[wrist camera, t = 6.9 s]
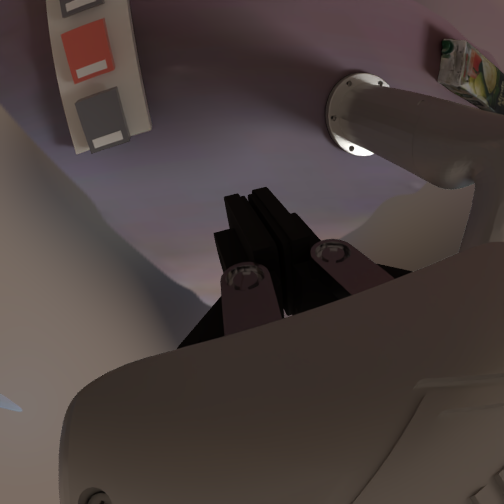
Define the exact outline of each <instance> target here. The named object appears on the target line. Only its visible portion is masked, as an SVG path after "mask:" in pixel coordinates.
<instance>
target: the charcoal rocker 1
mask: <svg viewBox="0 0 504 504" xmlns="http://www.w3.org/2000/svg"><path fill="white" fill-rule="evenodd" d="M59 1H60V7H61V12H62V18H67V17H69V16H72V15H74V14H77V13H79V12H82V11H84V10H87V9H90V8H93V7H96V6H99V5H101V4H105V2H104V0H59Z"/></svg>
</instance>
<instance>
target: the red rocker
mask: <svg viewBox="0 0 504 504" xmlns="http://www.w3.org/2000/svg"><path fill="white" fill-rule="evenodd" d="M61 38H62V42H63V46H64V50H65V54H66V57H67V61H68V64H69V68H70V71H71V75H72V78H73V81H74V84H77V83H80V82H82V81H85V80H87V79H90V78H93V77H96V76H99V75H101V74H104V73H107V72H110V71H113V70H114V69H115V63H114V59H113V55H112V51H111V46H110V42H109V37H108V32H107V28H106V23H105V18H102V19H99V20H96V21H93V22H90V23H88V24H85V25H82V26H80V27H77V28H75V29H72V30H70V31H67V32H65V33H63V34H61Z"/></svg>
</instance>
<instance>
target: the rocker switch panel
mask: <svg viewBox="0 0 504 504" xmlns="http://www.w3.org/2000/svg"><path fill="white" fill-rule="evenodd" d="M104 2H105V4H101V5H99V6H96V7H93V8H90V9H87V10H84V11H82V12H79V13H77V14H74V15H72V16H69V17H67V18H62V12H61V7H60V1H59V0H46V8H47V18H48V26H49V34H50V41H51V48H52V54H53V60H54V65H55V71H56V76H57V81H58V85H59V90H60V95H61V99H62V103H63V107H64V111H65V115H66V119H67V123H68V127H69V130H70V134H71V138H72V141H73V145H74V148H75V151H76V155H77V154H79V153H82V152H85V151H88V150H90V148H89V146H88V143H87V140H86V137H85V134H84V131H83V128H82V125H81V122H80V119H79V116H78V113H77V110H76V107H75V103H76V101H77V100H79V99H81V98H84V97H87V96H89V95H92V94H95V93H98V92H101V91H104V90H107V89H109V88H113V87H116V86H117V88H118V92H119V96H120V100H121V103H122V107H123V111H124V115H125V118H126V122H127V126H128V129H129V133H130V136H133V135H136V134H140V133H143V132H147V131H150V130H151V129H152V122H151V117H150V113H149V108H148V104H147V99H146V94H145V89H144V85H143V80H142V74H141V69H140V64H139V59H138V53H137V47H136V42H135V36H134V30H133V23H132V17H131V10H130V3H129V0H104ZM102 18H105V23H106V28H107V32H108V37H109V42H110V46H111V51H112V55H113V59H114V63H115V69H114V70H113V71H110V72H107V73H104V74H101V75H99V76H96V77H93V78H90V79H87V80H85V81H82V82H80V83H77V84H74V81H73V78H72V75H71V71H70V68H69V64H68V61H67V57H66V54H65V50H64V46H63V42H62V38H61V34H63V33H65V32H67V31H70V30H72V29H75V28H77V27H80V26H82V25H85V24H88V23H90V22H93V21H96V20H99V19H102Z"/></svg>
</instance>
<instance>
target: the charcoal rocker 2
mask: <svg viewBox="0 0 504 504" xmlns="http://www.w3.org/2000/svg"><path fill="white" fill-rule="evenodd" d="M75 107H76V110H77V113H78V116H79V119H80V122H81V125H82V128H83V131H84V134H85V137H86V140H87V143H88V146H89V148H90V151H91V154H92V153H95V152H98V151H101V150H104V149H107V148H110V147H113V146H116V145H119V144H122V143H126V142H129V141H130V133H129V129H128V126H127V122H126V118H125V115H124V111H123V107H122V103H121V100H120V96H119V92H118V88H117V86H116V87H113V88H109V89H107V90H104V91H101V92H98V93H95V94H92V95H89V96H87V97H84V98H81V99H79V100H77V101H76V103H75Z"/></svg>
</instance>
